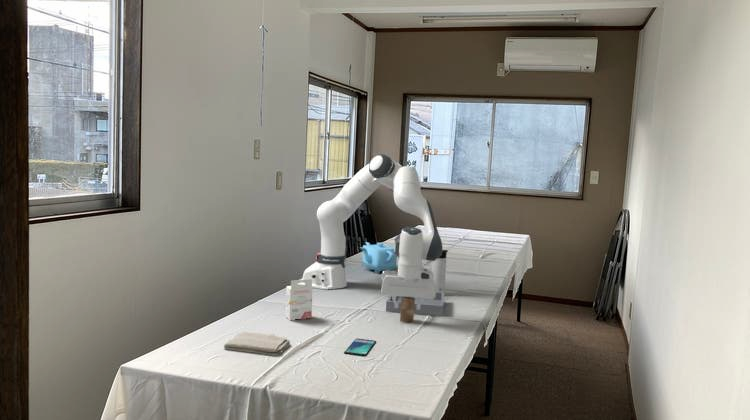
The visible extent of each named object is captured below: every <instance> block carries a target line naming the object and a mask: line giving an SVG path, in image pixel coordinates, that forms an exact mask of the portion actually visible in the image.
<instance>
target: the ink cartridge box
mask: <svg viewBox="0 0 750 420" xmlns="http://www.w3.org/2000/svg"><path fill="white" fill-rule="evenodd" d="M301 282H302V283H305V285H298V283H301ZM285 290H286V291H285V318H286V317H287V318H288V319H287V318H286V319H287V320H289V321H290V320H292V321H296V320H295V319H302V320H307V319H306V318H311V319H312V317H313V316H312V315H313V313H312V310H313V309H312V308H313V288H312V279H308V280H300V279H296V280H295V279H293V280H291V281H290V285H287V286H286V289H285Z"/></svg>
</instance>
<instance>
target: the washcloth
mask: <svg viewBox="0 0 750 420" xmlns="http://www.w3.org/2000/svg"><path fill="white" fill-rule="evenodd" d="M290 341H291V340H289V339H288V338H287V337H283V336H278V335H275V334H273V333H272V334H269V333H267V334H266V333H260V332H249V331H248V332H247V331H241V332H238V333H237V334H236V335H235V336H234V337H233V338H231V339H230V340H228V341H226V343H224V345H223V349H225V350H226V349H229V350H228V351H235V350H239V351H238V352H242V351H247V352H246V353H251V352H256V353H255V354H260V353H264V354H263V355H266V354H269V355H268V356H273V355H277V356H278V355H279V353H280V352H281V351H282V350H283V349H284V348H285V349H286V348H288V347H289V346H290V344H291V343H290ZM285 349H284V350H285ZM240 350H241V351H240ZM284 350H283V351H284ZM283 351H282V352H283ZM282 352H281V353H282ZM281 353H280V354H281Z"/></svg>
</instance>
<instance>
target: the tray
mask: <svg viewBox="0 0 750 420" xmlns="http://www.w3.org/2000/svg"><path fill="white" fill-rule="evenodd" d="M444 299H445V292H444V293H442V292H436V297H435V298H434V299H424V302H423V303H422V304H421V308H420V310H416V308H417V307H416V306H417V304H419V303H420V302H421V301H420V298H415V305H414V315H422V316H423V315H424V316H436V317H443V313H444V304H445V303H444V301H445V300H444ZM396 301H397V302H399V308H395V303H394V301H393V299H392V296H389V295H388V297H387V299H386V301H385V304H386V305H385V312H389V313H398V314H400V313H401V296H396Z"/></svg>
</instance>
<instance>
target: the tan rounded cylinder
mask: <svg viewBox="0 0 750 420" xmlns="http://www.w3.org/2000/svg"><path fill="white" fill-rule="evenodd" d="M414 305H415V298H412V297H401V313H399V314H400V315H399V318H400V319H399V320H400V322H402V323H404V324H405V323H407V324H409V323H414V319H415V318H414V317H415V314H414Z"/></svg>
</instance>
